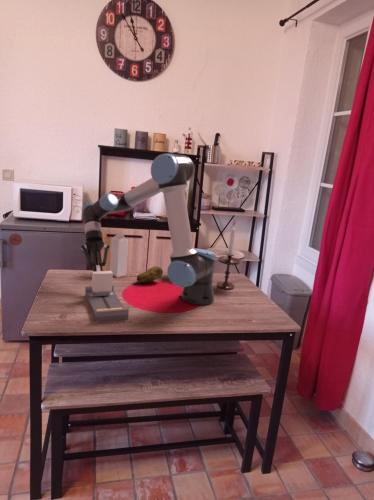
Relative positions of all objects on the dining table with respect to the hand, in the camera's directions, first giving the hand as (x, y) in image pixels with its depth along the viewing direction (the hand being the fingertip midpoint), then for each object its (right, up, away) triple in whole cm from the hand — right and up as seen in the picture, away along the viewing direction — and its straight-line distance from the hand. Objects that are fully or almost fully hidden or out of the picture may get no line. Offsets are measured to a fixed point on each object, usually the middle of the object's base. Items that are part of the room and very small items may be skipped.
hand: (99, 279), depth 160 cm
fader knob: (+2, -6, -3) cm, 6 cm away
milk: (+3, 0, +30) cm, 30 cm away
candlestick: (+58, -6, +29) cm, 65 cm away
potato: (+19, -3, +24) cm, 31 cm away
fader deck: (+5, -10, -9) cm, 14 cm away
